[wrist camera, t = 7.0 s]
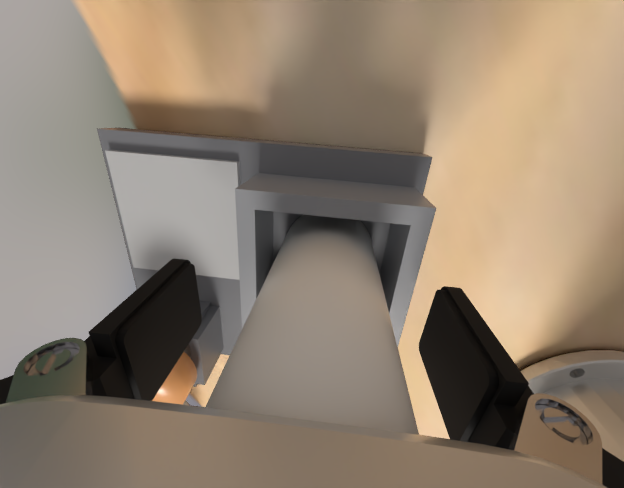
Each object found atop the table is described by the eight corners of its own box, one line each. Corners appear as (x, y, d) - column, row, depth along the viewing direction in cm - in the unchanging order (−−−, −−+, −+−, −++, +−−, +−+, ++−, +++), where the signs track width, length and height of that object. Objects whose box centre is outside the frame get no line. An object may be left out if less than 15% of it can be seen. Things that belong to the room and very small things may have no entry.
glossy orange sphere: (215, 308, 18) (177, 366, 13) (220, 357, 19) (188, 421, 15) (150, 300, 18) (93, 354, 14) (161, 349, 20) (114, 410, 16)
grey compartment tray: (423, 153, 14) (461, 170, 10) (375, 358, 21) (384, 424, 16) (118, 127, 15) (25, 131, 11) (162, 330, 22) (115, 386, 17)
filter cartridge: (379, 212, 14) (656, 900, 2) (364, 290, 17) (441, 854, 4) (286, 203, 15) (-58, 733, 2) (283, 281, 17) (109, 778, 4)
